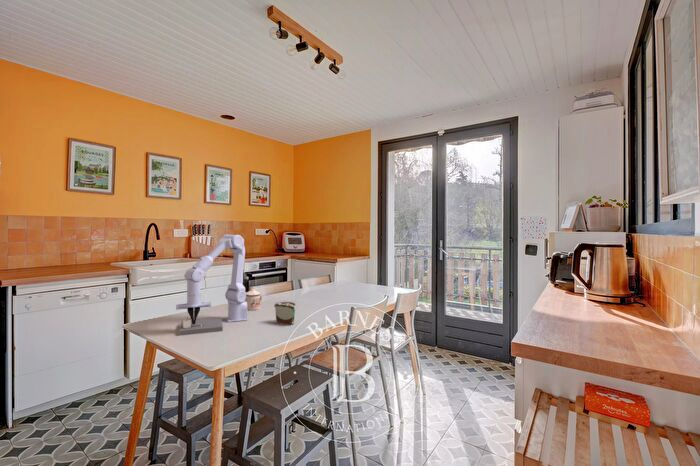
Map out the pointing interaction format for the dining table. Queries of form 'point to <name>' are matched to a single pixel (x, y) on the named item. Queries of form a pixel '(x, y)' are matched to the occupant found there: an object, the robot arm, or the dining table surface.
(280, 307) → the food container
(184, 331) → the console
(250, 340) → the dining table surface
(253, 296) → the teacup with lid
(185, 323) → the fader knob
